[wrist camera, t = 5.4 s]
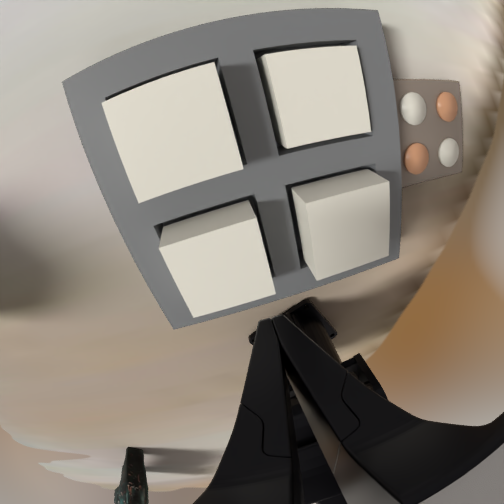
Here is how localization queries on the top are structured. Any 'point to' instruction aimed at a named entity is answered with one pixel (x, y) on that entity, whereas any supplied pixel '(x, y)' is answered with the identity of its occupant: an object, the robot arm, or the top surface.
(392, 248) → the control panel
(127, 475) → the ceramic cat
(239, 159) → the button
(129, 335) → the top surface
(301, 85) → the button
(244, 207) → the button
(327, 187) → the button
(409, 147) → the pattern card
